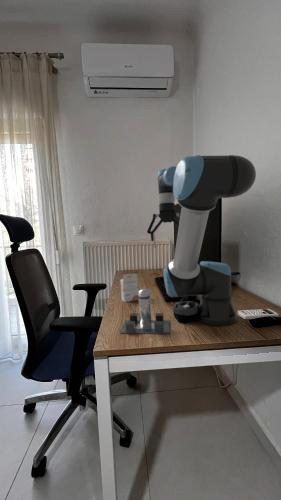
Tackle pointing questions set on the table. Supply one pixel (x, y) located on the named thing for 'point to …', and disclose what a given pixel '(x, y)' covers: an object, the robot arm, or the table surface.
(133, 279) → the ink cartridge box
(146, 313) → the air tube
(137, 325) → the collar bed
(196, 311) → the cpu cooler
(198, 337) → the table surface
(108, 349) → the table surface
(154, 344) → the table surface
